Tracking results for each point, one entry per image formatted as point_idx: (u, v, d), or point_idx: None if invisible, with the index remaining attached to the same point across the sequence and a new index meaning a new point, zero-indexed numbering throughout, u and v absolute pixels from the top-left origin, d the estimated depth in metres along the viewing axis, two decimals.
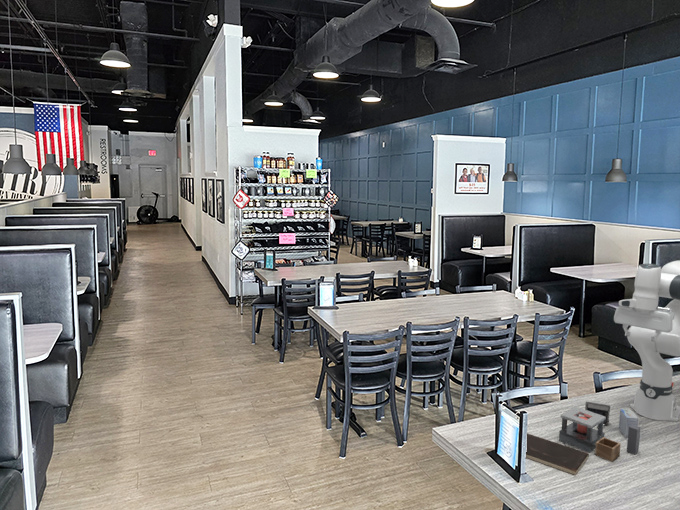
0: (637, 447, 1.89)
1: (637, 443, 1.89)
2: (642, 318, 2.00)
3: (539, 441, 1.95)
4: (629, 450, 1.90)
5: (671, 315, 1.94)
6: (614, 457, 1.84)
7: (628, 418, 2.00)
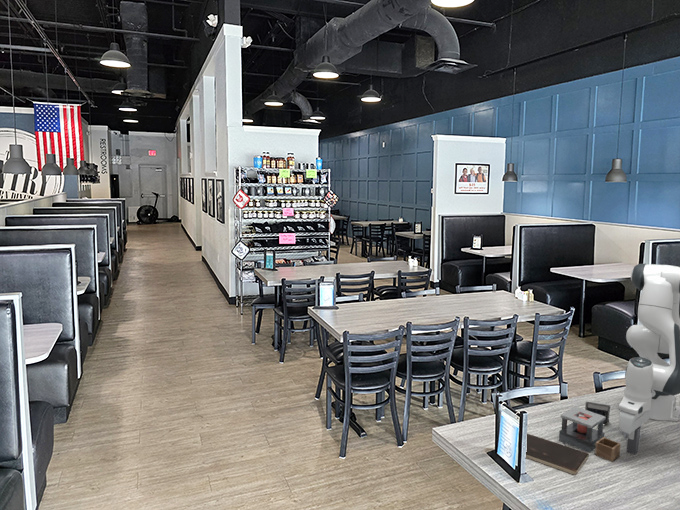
0: (637, 447, 1.89)
1: (637, 443, 1.89)
2: (641, 417, 1.87)
3: (539, 441, 1.94)
4: (629, 450, 1.90)
5: None
6: (614, 457, 1.84)
7: None
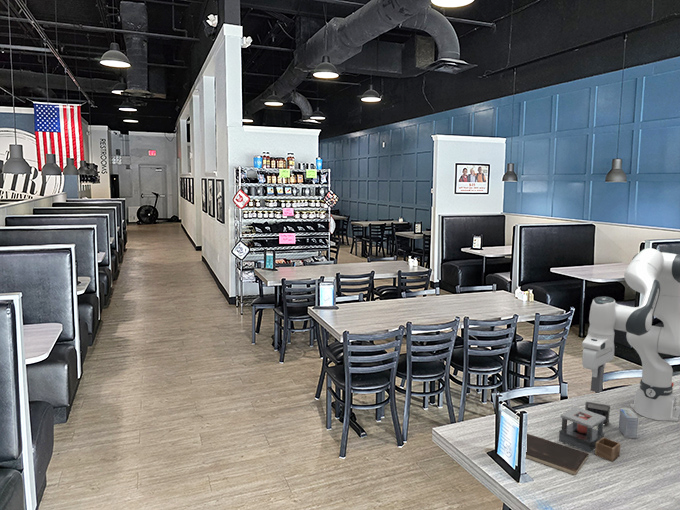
0: (601, 386, 1.92)
1: (601, 381, 1.91)
2: (604, 355, 1.90)
3: (539, 441, 1.94)
4: (593, 389, 1.92)
5: None
6: (614, 457, 1.84)
7: (628, 418, 2.00)
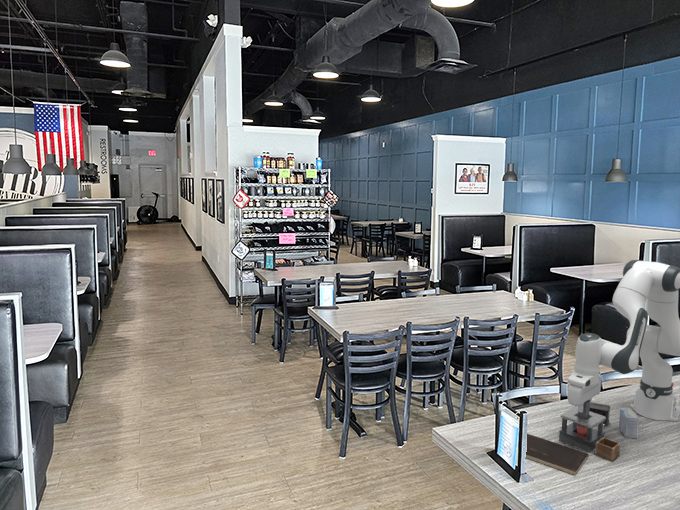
0: None
1: (587, 416, 1.95)
2: (590, 390, 1.94)
3: (539, 441, 1.94)
4: None
5: None
6: (614, 457, 1.84)
7: (628, 418, 2.00)
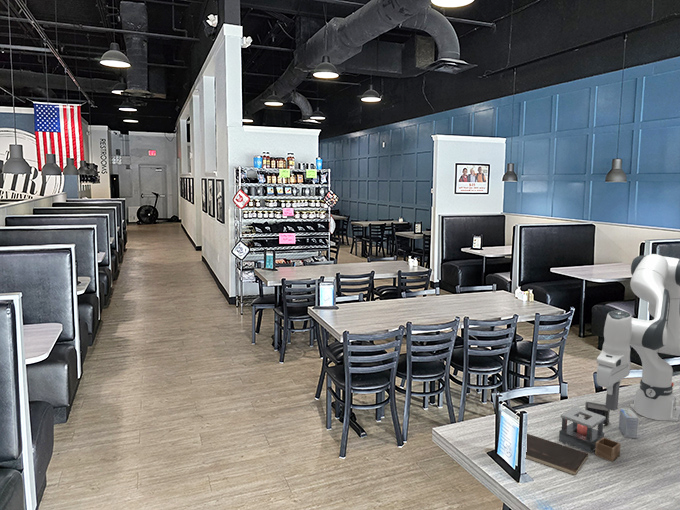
0: (616, 403, 1.84)
1: (616, 399, 1.83)
2: (619, 371, 1.82)
3: (538, 441, 1.94)
4: (608, 406, 1.85)
5: None
6: (614, 457, 1.84)
7: (628, 418, 2.00)
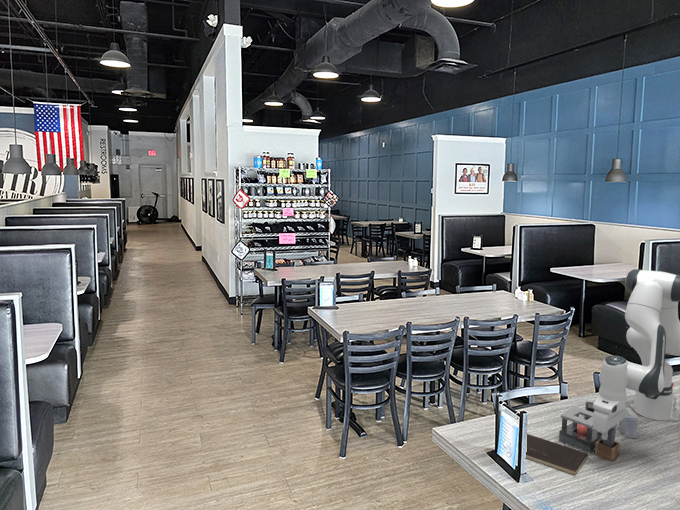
0: None
1: (612, 445, 1.86)
2: (616, 416, 1.84)
3: (538, 441, 1.94)
4: None
5: None
6: (614, 457, 1.84)
7: (628, 418, 2.00)
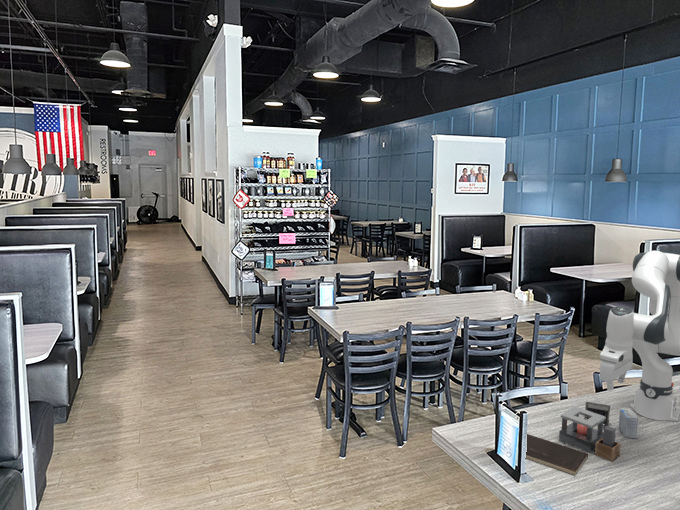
0: None
1: (612, 445, 1.86)
2: (622, 366, 1.86)
3: (538, 441, 1.94)
4: None
5: None
6: (614, 457, 1.84)
7: (628, 418, 2.00)
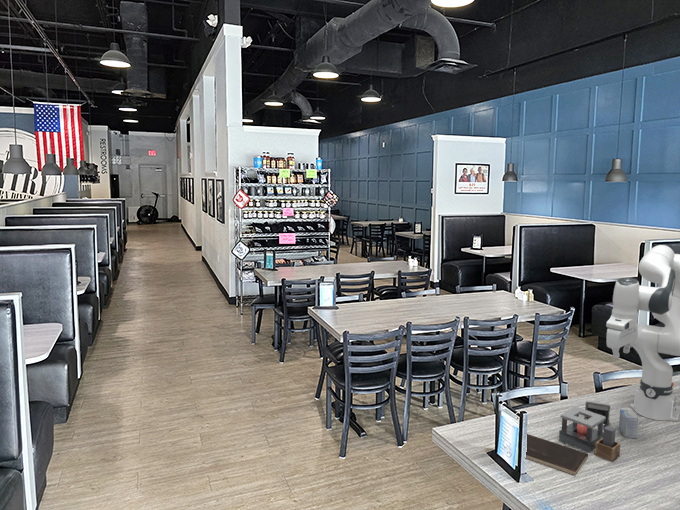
0: None
1: (612, 445, 1.86)
2: (628, 335, 1.94)
3: (538, 441, 1.94)
4: None
5: None
6: (614, 457, 1.84)
7: (628, 418, 2.00)
